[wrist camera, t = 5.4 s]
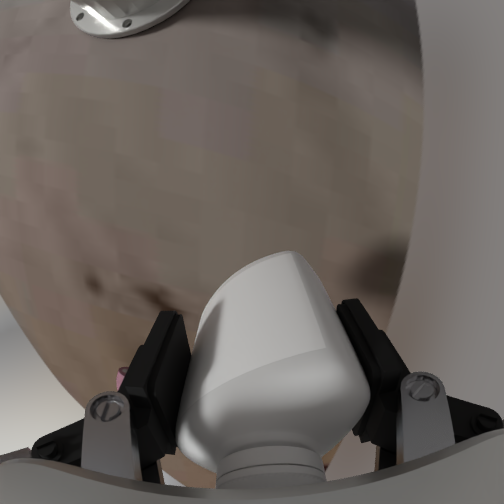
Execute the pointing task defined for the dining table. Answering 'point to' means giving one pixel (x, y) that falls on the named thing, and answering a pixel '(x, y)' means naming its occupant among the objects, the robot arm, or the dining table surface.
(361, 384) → the eye dropper bottle
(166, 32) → the dining table surface
